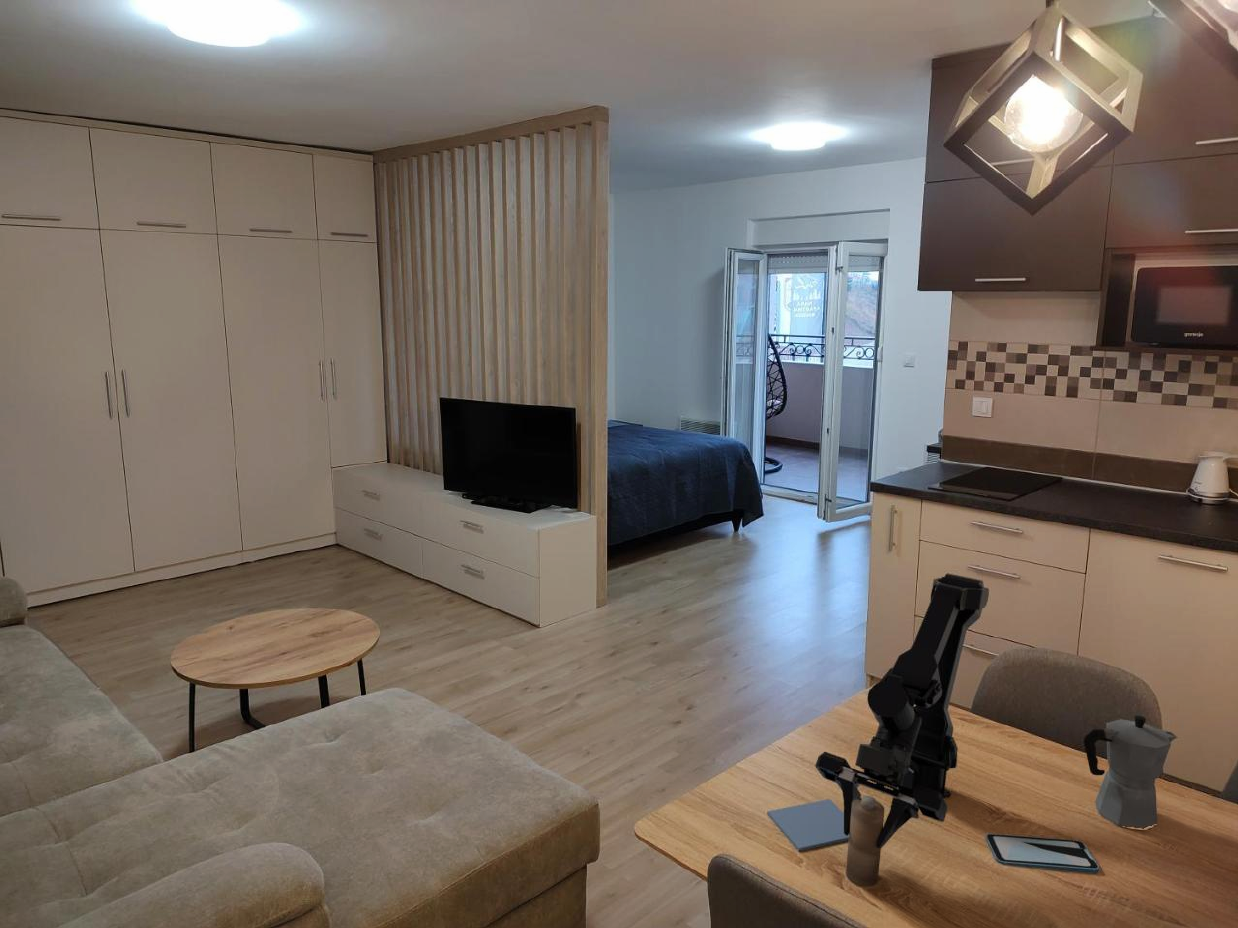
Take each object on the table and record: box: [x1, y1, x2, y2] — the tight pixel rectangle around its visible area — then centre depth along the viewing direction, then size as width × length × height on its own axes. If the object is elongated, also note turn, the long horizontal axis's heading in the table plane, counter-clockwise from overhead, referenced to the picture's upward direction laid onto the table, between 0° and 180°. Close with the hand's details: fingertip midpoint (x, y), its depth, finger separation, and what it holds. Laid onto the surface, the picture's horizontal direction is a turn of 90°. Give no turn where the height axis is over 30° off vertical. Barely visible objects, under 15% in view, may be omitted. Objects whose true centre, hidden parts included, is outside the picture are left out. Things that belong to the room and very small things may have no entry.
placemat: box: [766, 798, 849, 852], centre depth 139 cm, size 12×10×1 cm
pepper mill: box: [845, 795, 885, 888], centre depth 125 cm, size 5×5×13 cm
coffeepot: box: [1083, 715, 1178, 829], centre depth 141 cm, size 15×9×18 cm, turn 92°
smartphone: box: [984, 833, 1100, 874], centre depth 133 cm, size 7×1×15 cm
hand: (861, 841), depth 124 cm, fingers closed on pepper mill, 5 cm apart
